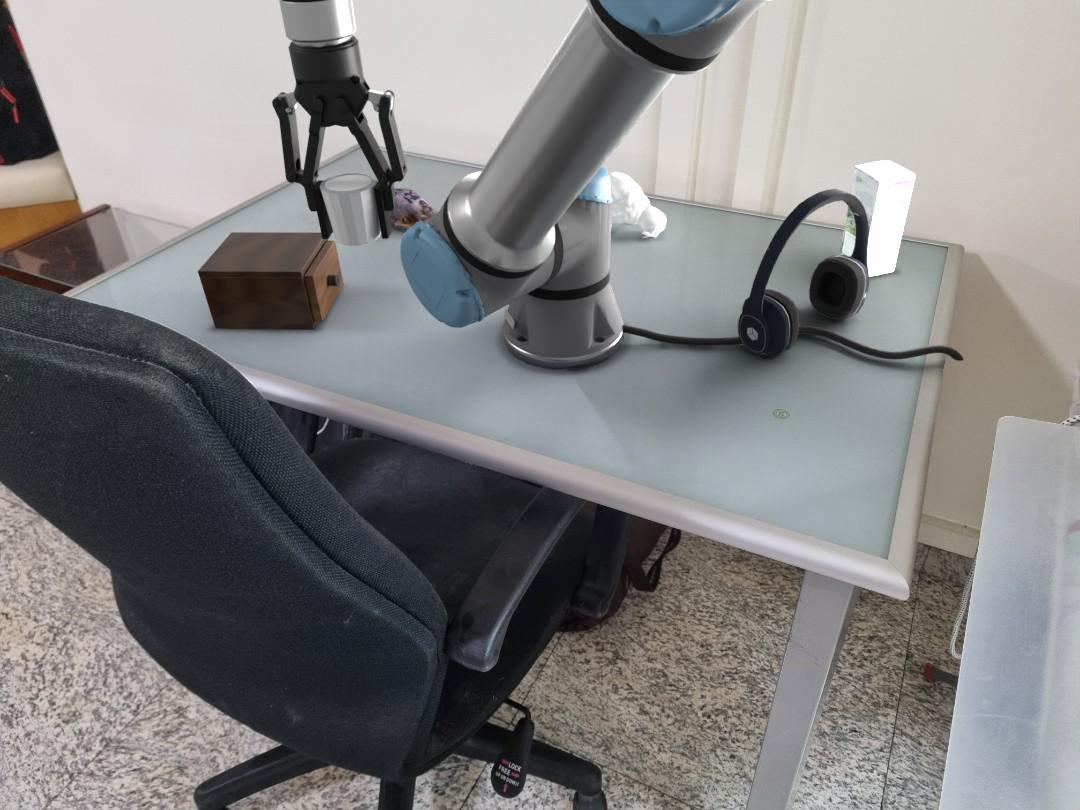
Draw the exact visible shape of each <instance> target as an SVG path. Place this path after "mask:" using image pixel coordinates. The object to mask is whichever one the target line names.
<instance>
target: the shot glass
mask: <svg viewBox="0 0 1080 810" xmlns="http://www.w3.org/2000/svg"><path fill="white" fill-rule="evenodd" d="M323 180H324V181H323V182H322V183H321V185H320V189H321V193H322V196H323V199H324V203H325V206H326V209H327V213H328V216H329V219H330V223H331V226H332V229H333V232H332V234H333V236H334V240H335V242H336V243H338V244H340V245H342V246H349V247H357V246H363V245H368V244H370V243H372V242H376V240H378V239H379V238H380V237H381V229H380V223H379V216H378V210H377V204H376V198H375V192H374V187H375V186H376V184H377V182H378V180H377V178H376V176H375V175H373V174H370V173H366V172H359V171H358V172H344V173H339V174H336V175H333V176H330V177H327V178H326V179H323Z"/></svg>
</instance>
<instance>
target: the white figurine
mask: <svg viewBox="0 0 1080 810" xmlns="http://www.w3.org/2000/svg"><path fill="white" fill-rule="evenodd" d="M608 174H609V176H610V182H611V197H612V199H613V203H611V229H612V228H613V226H617V225H622V224H625V225H628V226H632V225H633V226H634V225H635V226H636V227H639V228H641V229H643V231H641V233H640V235H644V236H642V239H644V238H649V237H651V238H654V239H655V238H657V237H658V236H659V234H660V233H662V232H663V231H664V230H665V228H666V225H667V217H666V214H665V213H664V212H662V210H660V209H658V208H657V207H655V206H653V205H651V203H650V199H648V197H647V195H646V194H645V193H644V192H643V190H642V188H641V186H640V185H639V184H638V183H637V182H635V181H634V179H633V178H632V177H630V176H629V175H628V174H625V173H623V172H621V171H610V172H608Z"/></svg>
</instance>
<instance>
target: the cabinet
mask: <svg viewBox="0 0 1080 810" xmlns="http://www.w3.org/2000/svg"><path fill="white" fill-rule="evenodd" d="M326 241H329V239H322V235H321V232H296V231H295V232H291V231H290V232H287V231H286V232H284V231H283V232H282V231H281V232H273V231H272V232H271V231H270V232H269V231H268V232H264V231H263V232H257V231H256V232H253V231H251V232H248V231H247V232H245V231H244V232H241V231H240V232H239V231H238V232H233V231H232V232H230V233H229V234H228V236H227V237H226V238H225V239H224V240H223V241H222V242H221V244H220V245H219V246H218V247H217V248H216V250H214V251H213V253H212V254H211V255H210V256H209V258H207V260H206V261H205V262H204V263H203V264H202V265H201V267H200V268H199V269H198V270H197V275H198V277H199V280H200V284H201V286H202V289H203V293H204V296H205V300H206V303H207V306H208V309H209V312H210V315H211V319H212V321H213V322H212V323H213V325H214V329H217V330H218V329H219V330H293V331H295V330H297V331H299V330H301V331H314V330H315V329H316V327H317V325H318V323H319V322H315V321H314V318H313V314H312V309H311V305H310V301H309V296H308V292H307V287H306V283H305V279H304V273H305V272H306V270H307V269H308V267H309V266H310V264H311V262H312V261H313V259H314V258H315V256H316V255H317V253H318V254H319V252H320V250H321V249H322V247H323V246H324V244H325V243H326Z"/></svg>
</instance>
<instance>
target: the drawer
mask: <svg viewBox="0 0 1080 810" xmlns="http://www.w3.org/2000/svg"><path fill="white" fill-rule="evenodd" d="M341 269H342V268H341V264H340V260H339V254H338V250H337V242H336V240H328V241H326V243H325V244H324V246H323V247H322V249H321V250H320V252H319V254H318V253H317V255H316V256H315V258H314V259H313V261H312V262H311V264H310V266H309V267H308V269H307V270H306V272H305V273H304V279H305V283H306V287H307V292H308V296H309V301H310V305H311V309H312V314H313V318H314V321H315V322H318V323H320V322H321V323H322V322H324V320H325V318H326V316H327V315H328V313H329V312H330V309H331V307H332V306H333V304H334V302H335V300H336V299H337V297H338V295H339V293H340V291H341V290H342V288H343V286H344V279H343V275H342V270H341Z"/></svg>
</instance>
